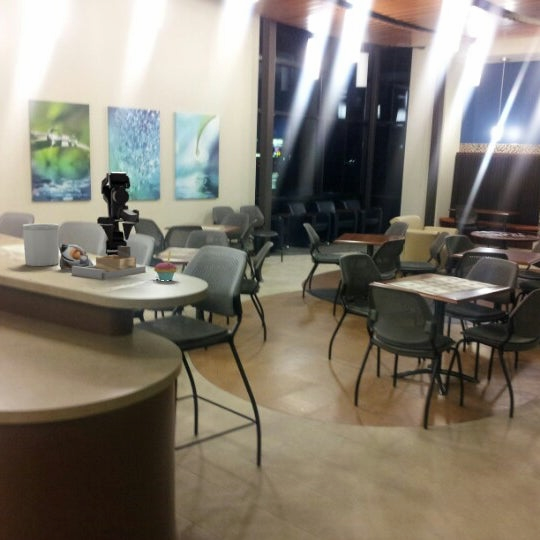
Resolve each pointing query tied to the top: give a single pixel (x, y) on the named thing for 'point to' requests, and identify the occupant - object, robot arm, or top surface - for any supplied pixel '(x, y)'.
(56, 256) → the utensil holder
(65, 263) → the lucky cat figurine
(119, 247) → the crate
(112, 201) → the robot arm
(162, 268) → the cupcake
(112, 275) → the tray
